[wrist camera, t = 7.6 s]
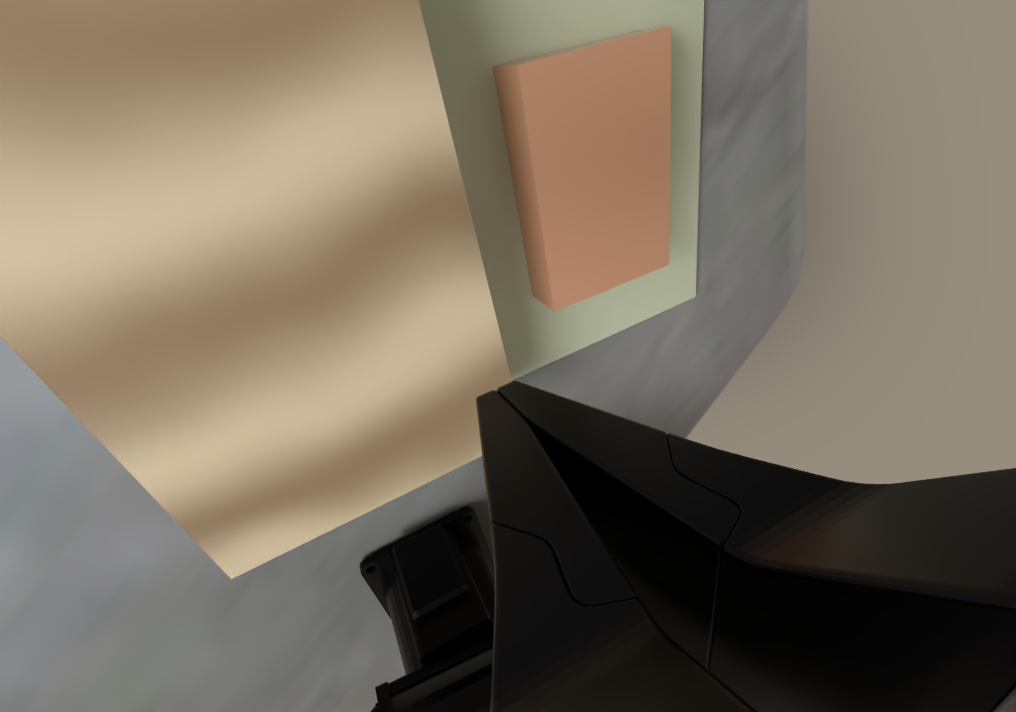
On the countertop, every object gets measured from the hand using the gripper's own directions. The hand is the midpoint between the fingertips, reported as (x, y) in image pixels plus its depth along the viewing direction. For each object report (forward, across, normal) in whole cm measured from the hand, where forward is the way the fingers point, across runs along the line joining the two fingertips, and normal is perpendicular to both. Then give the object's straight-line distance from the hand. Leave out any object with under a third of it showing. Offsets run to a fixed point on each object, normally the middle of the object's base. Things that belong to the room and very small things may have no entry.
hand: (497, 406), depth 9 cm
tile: (+9, -9, 0) cm, 12 cm away
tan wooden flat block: (+11, +3, -1) cm, 12 cm away
